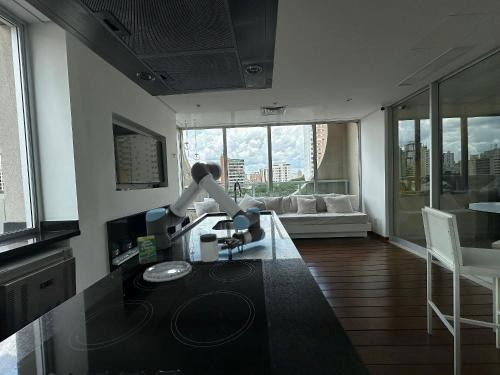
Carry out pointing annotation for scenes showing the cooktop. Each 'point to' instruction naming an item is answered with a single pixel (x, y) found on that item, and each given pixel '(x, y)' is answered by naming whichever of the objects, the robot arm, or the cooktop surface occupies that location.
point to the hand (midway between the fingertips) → (207, 247)
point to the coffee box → (147, 249)
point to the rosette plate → (167, 271)
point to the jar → (208, 247)
